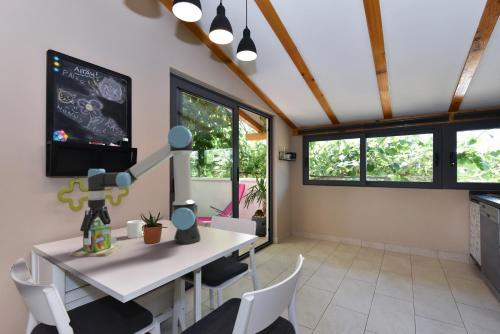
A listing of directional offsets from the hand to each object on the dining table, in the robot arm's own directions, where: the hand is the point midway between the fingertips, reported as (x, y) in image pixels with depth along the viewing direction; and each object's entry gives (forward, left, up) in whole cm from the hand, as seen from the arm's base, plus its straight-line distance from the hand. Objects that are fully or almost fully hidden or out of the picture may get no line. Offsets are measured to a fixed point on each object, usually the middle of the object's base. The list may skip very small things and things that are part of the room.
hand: (96, 240), depth 127 cm
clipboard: (0, 0, -6) cm, 6 cm away
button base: (+5, -12, -6) cm, 15 cm away
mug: (-7, -28, -6) cm, 30 cm away
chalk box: (0, 0, -5) cm, 5 cm away
